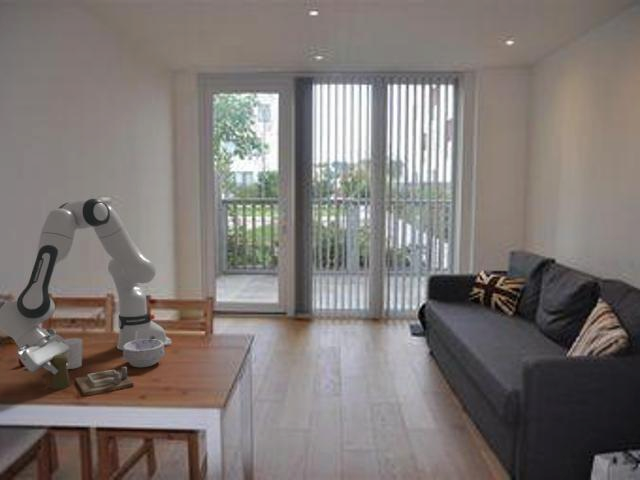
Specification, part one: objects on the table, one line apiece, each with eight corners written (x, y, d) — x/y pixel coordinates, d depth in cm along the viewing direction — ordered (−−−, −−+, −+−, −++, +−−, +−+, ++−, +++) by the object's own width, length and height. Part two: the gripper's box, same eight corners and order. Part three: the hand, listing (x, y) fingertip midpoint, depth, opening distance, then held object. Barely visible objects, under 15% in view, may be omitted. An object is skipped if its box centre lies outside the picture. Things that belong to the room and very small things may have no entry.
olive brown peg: (55, 383, 196) (53, 352, 195) (73, 382, 197) (71, 352, 196) (48, 389, 190) (46, 358, 189) (66, 389, 191) (65, 358, 190)
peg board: (121, 372, 207) (121, 359, 206) (133, 386, 194) (133, 371, 193) (75, 381, 198) (74, 367, 198) (84, 396, 185) (83, 381, 184)
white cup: (88, 364, 217) (86, 339, 215) (73, 370, 209) (71, 344, 208) (71, 362, 219) (70, 337, 218) (56, 368, 212) (55, 342, 211)
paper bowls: (126, 372, 207) (126, 352, 206) (120, 361, 221) (120, 341, 220) (168, 366, 214) (167, 346, 213) (160, 355, 228) (159, 336, 227)
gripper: (20, 344, 182) (49, 374, 182) (56, 327, 202) (83, 354, 202) (8, 356, 183) (37, 386, 183) (45, 339, 203) (72, 366, 203)
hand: (61, 369), depth 193 cm, fingers closed on olive brown peg, 4 cm apart
